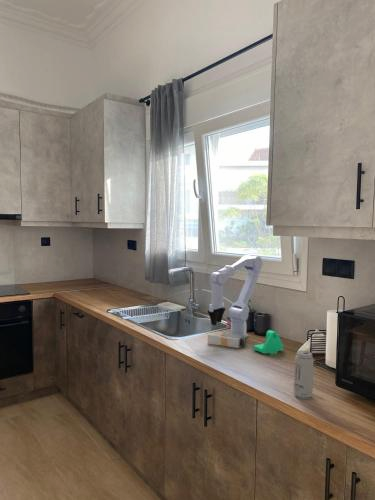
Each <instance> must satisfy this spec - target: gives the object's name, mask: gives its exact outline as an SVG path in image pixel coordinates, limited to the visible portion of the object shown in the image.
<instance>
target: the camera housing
mask: <svg viewBox="0 0 375 500" xmlns="http://www.w3.org/2000/svg"><path fill="white" fill-rule="evenodd" d="M219 336H223V337H229V338H236V339H240V348H242V347H244V346H245V345H246V338H244V335H238V334H232V333H231V332H224V333H222V334H221V335H219Z"/></svg>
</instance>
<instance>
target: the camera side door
mask: <svg viewBox="0 0 375 500" xmlns="http://www.w3.org/2000/svg"><path fill="white" fill-rule="evenodd" d="M207 344H211V345H217V346H224V347H229V348H236V349H240V348H241V347H240V339H236V338H229V337H223V336H220V335H216V334H209V333H208V334H207Z"/></svg>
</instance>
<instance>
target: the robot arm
mask: <svg viewBox="0 0 375 500" xmlns="http://www.w3.org/2000/svg"><path fill="white" fill-rule="evenodd" d="M263 265H264V263H263V259H262V257H261V256H258V255H257V256H256V255H248V254H246V255H244V256H241V258H240V259H238V260H237V261H236V262H235V263H233V264H232V265H225V266H224V267H223V268H221V269H218V270H217V271H216V272H215V271H214V272H212V273H211V274H210V275H209V277H208V279H209V282H210V286H211V296H210V298H211V301H210V304H208V306H209V307H208V310H207V314H208V316H209V319H210V323H211V325H212V326H216V325H217V323H222V320H223V316H224V313H225V311H226V307H225V303H224V284H225V283H226V281H227V280H228V279H230V278H231V277H233V276H235V272H237V271H238V270H241V269H243V268H244V270H245V271H246V273H247V277H246V279H245V282H244V284H243V286H242V289H241V291H240V293H239V295H238V299H237V300H236V301H234V302H232V305H231V307H229V309H228V312H227V315H228V317H229V320H230V333H232V334H238V335H244V338H245V339H246V338H247V337H248V336H249V335H248V334H247V327H248V326H247V320H248V318H249V312H250V311H251V310H250V307H249V306H248V304H249V301H250V299H251V296H252V295H253V292H254V289H255V287H256V285H257V282H258V279H259V277H260V273H261V270H262V267H263Z"/></svg>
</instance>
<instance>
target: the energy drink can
mask: <svg viewBox="0 0 375 500" xmlns="http://www.w3.org/2000/svg"><path fill="white" fill-rule="evenodd" d="M294 358H295V359H294V379H293V380H294V382H293V383H294V384H293V386H294V387H293V393H294V395H295V397H296V398H298V399H300V400H309V399H311V397H312V396H313V389H314V388H313V387H314V366H315V365H314V364H315V363H314V362H315V360H314V357H313V353H312V352H310V351H308V350H307V351H306V350H300V351H297V352H296V355H295V357H294Z"/></svg>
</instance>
